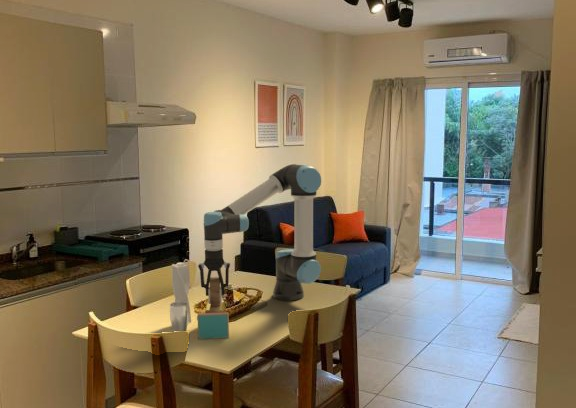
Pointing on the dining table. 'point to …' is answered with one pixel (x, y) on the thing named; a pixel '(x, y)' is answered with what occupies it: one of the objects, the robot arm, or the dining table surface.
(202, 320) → the tile
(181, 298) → the skyscraper
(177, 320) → the beer glass
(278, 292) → the robot arm
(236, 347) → the dining table surface
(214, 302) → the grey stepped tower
